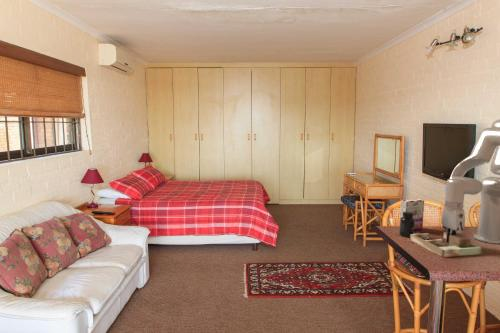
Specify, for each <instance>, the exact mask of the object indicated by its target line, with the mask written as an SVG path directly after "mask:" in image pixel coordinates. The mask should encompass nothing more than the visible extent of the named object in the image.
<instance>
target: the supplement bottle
mask: <svg viewBox="0 0 500 333" xmlns="http://www.w3.org/2000/svg"><path fill="white" fill-rule="evenodd" d="M412 217H413V213H412V212H403V217H401V219H399V220H400V221H399V232H398V233H399V235H400V236H402V237H404V238H410V234H415V230H414V225H415V220H414V218H412Z"/></svg>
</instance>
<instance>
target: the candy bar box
mask: <svg viewBox="0 0 500 333" xmlns="http://www.w3.org/2000/svg"><path fill="white" fill-rule="evenodd" d="M400 202H401V203H400V215H399V216H400V219H401V217H403V212H412V213H413V217H412V218H414V220H415V225H414V231H419V230H421V231H422V230H423V226H424V225H423V224H424V209H425V208H424V207H425V200H424V199H423V198H422V199H421V198H406V199H405V198H403V199H401V201H400ZM400 219H399V220H400Z"/></svg>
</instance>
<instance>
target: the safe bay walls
mask: <svg viewBox="0 0 500 333" xmlns="http://www.w3.org/2000/svg"><path fill="white" fill-rule="evenodd" d="M439 248H441V249H456V248H459V247H457V246H449V245H448V246H442V247H439ZM460 249H462V250H461V256H462V257H463V256H473V255H481V254H482V250H483V249H482V246H479V245H477V244H474V243H472V242H471V243H470V248H460ZM461 256H460V257H461Z"/></svg>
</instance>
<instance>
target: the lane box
mask: <svg viewBox="0 0 500 333" xmlns="http://www.w3.org/2000/svg"><path fill="white" fill-rule="evenodd" d="M442 237H443V239H445V240H446V239H447V234H446V231H444V232H443V236H442ZM426 239H429V240H426ZM443 239H441V238H439V239H438V238H437V239H436V238H435V239H430V233H429V232H425V233H424V232H423V233H414V234H410V237H409V240H410V242H412V243H414V242H415V243H414V244H416V243H417V244H416V245H419V246H421V247H422V248H424V249H426V250H428V251H430V252H432V253H434V254H435V255H437V256H440V257H441V258H446V257H447V258H448V257H461V250H462V249H460V248H456V249H441V248H439V247H437V246H442V247H443Z"/></svg>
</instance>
